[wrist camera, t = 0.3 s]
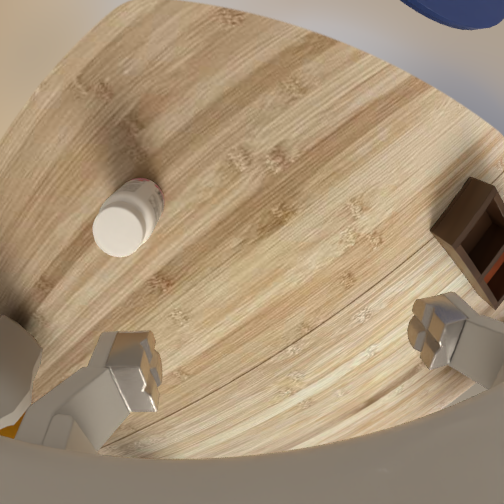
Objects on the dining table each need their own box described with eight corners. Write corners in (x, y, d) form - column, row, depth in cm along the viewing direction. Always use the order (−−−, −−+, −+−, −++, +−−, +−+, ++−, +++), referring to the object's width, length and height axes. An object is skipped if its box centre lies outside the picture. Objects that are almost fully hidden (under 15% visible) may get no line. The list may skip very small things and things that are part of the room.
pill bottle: (110, 209, 29) (78, 242, 22) (131, 168, 28) (102, 188, 20) (151, 233, 31) (131, 273, 23) (174, 192, 29) (159, 221, 22)
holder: (429, 230, 34) (451, 245, 30) (470, 176, 32) (494, 186, 27) (478, 294, 39) (495, 310, 35) (511, 250, 37) (530, 263, 33)
